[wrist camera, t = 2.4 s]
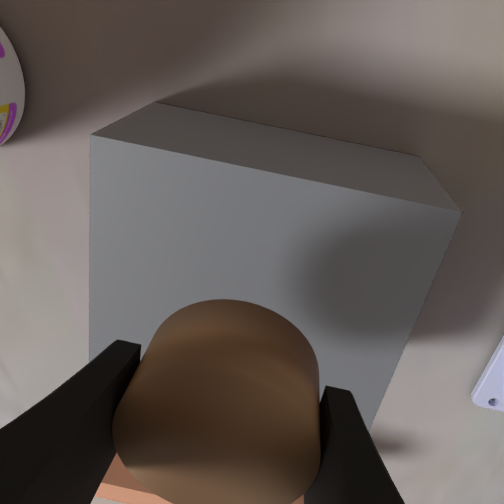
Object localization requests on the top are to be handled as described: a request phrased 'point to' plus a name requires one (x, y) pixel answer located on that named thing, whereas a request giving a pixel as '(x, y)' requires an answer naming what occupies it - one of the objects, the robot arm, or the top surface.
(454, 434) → the top surface
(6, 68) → the supplement bottle
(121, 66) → the top surface
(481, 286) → the top surface
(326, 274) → the storage box
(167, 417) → the walnut puck
